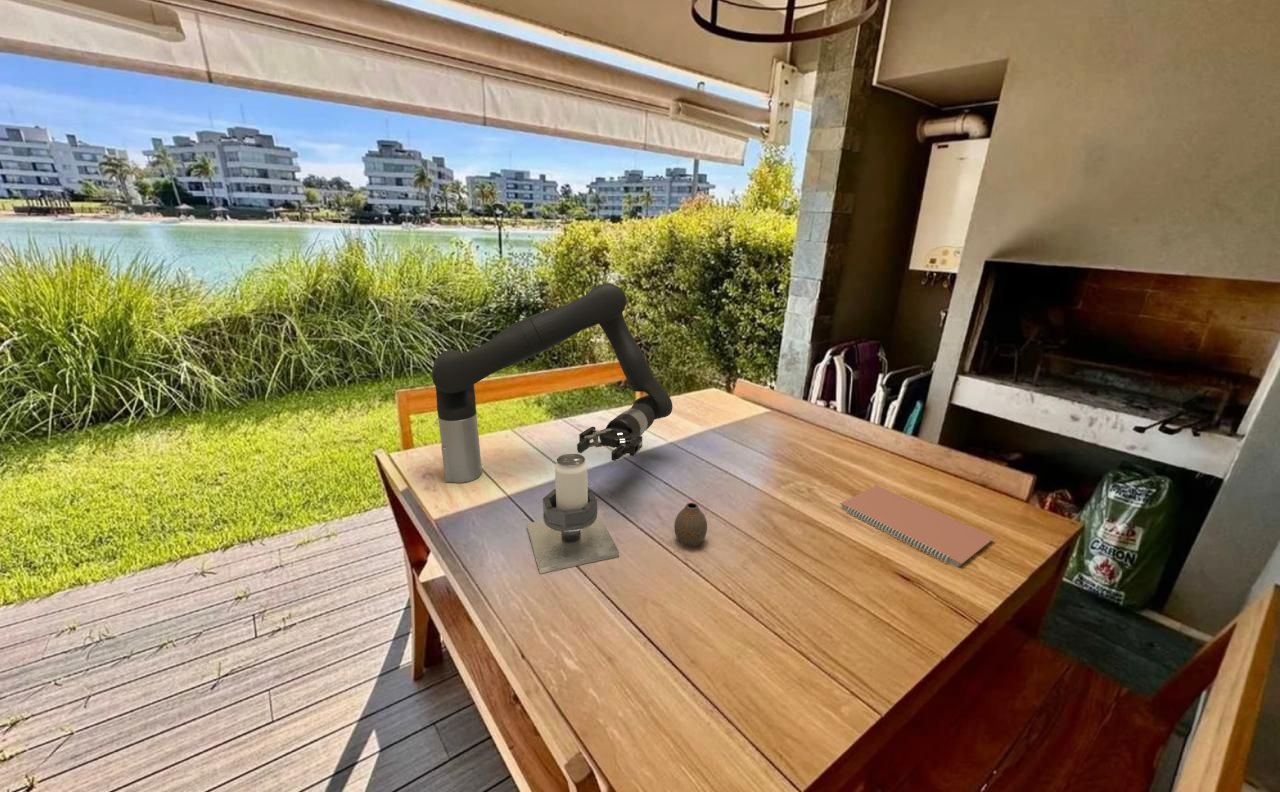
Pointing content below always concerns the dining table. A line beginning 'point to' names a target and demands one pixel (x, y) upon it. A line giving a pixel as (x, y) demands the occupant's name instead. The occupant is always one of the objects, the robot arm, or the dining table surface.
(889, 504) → the notebook
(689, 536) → the vase
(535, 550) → the cup bracket
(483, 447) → the dining table surface
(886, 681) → the dining table surface
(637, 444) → the robot arm
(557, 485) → the can
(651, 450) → the dining table surface
